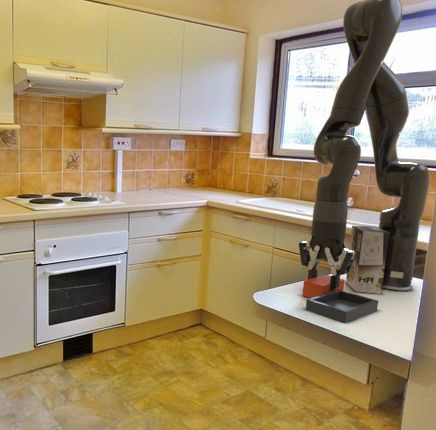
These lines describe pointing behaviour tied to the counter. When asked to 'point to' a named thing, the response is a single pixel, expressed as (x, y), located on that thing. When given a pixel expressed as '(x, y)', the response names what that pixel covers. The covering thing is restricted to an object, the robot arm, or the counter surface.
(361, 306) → the tray
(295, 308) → the counter surface
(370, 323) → the counter surface
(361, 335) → the counter surface
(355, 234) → the coffee box
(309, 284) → the orange-red rectangular block
